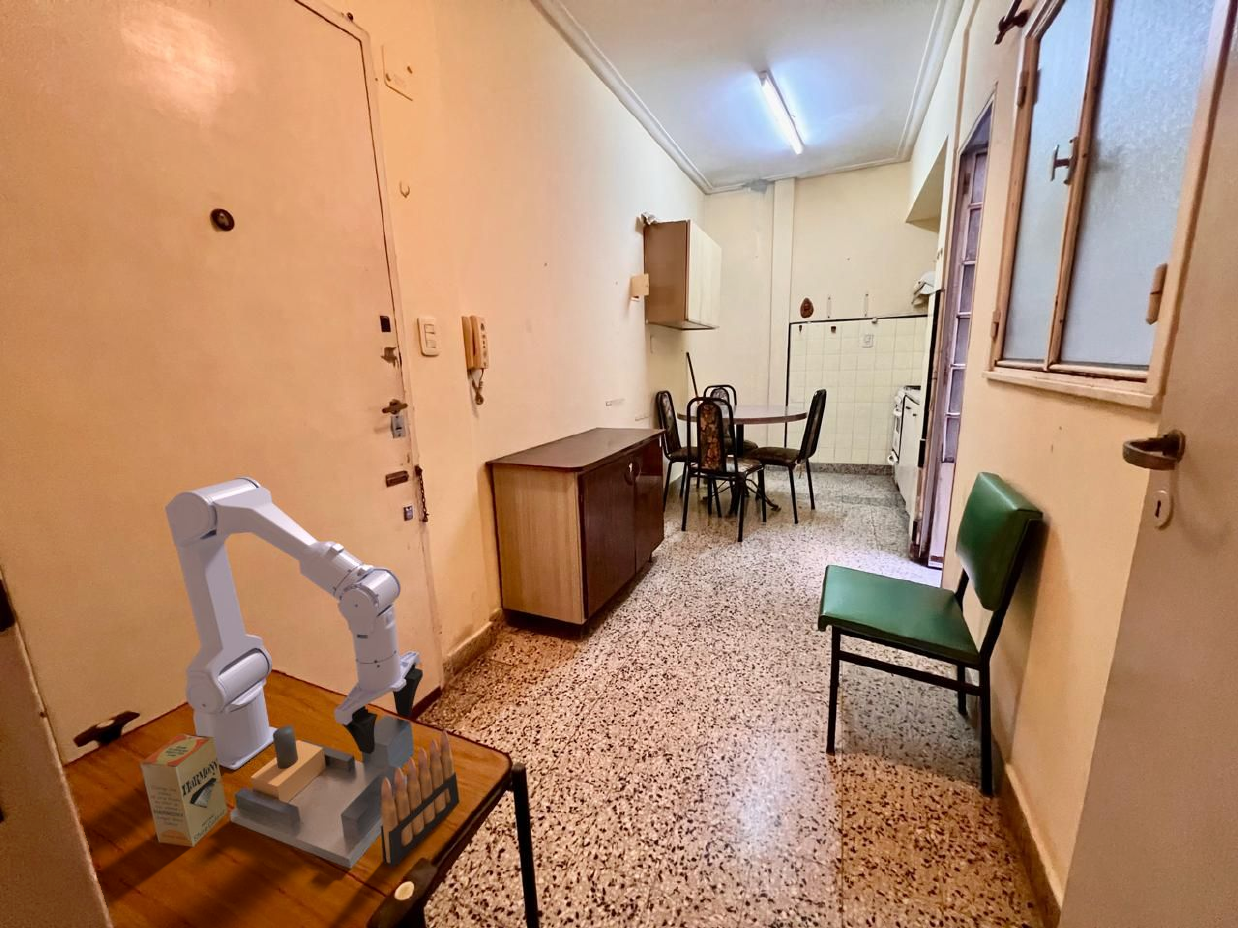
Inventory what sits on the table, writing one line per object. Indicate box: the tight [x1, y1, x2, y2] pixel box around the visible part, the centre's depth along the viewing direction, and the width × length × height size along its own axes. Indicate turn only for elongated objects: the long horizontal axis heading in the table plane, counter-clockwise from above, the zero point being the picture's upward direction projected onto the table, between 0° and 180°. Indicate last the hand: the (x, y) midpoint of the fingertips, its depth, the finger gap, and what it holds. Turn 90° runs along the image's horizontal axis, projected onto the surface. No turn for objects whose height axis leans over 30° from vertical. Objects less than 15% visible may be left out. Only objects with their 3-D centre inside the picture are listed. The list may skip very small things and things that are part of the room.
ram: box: [250, 724, 326, 803], centre depth 68 cm, size 5×7×8 cm
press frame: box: [229, 739, 407, 870], centre depth 67 cm, size 20×12×5 cm, turn 72°
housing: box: [361, 714, 415, 769], centre depth 74 cm, size 6×5×6 cm
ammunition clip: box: [380, 729, 460, 869], centre depth 63 cm, size 11×2×12 cm, turn 150°
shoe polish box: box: [139, 733, 229, 848], centre depth 63 cm, size 5×5×12 cm
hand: (386, 731), depth 74 cm, fingers open, 7 cm apart
